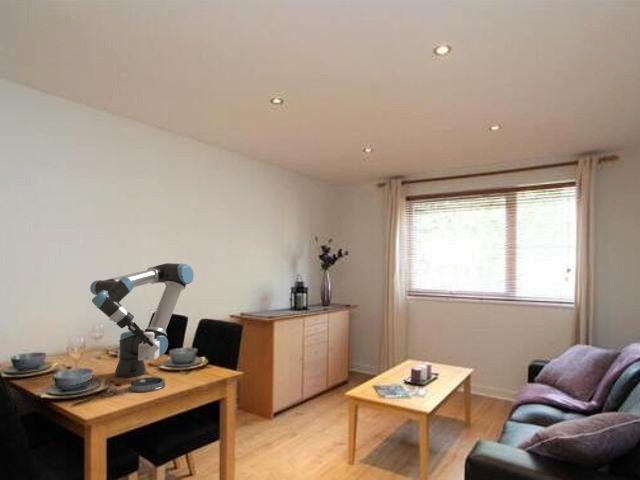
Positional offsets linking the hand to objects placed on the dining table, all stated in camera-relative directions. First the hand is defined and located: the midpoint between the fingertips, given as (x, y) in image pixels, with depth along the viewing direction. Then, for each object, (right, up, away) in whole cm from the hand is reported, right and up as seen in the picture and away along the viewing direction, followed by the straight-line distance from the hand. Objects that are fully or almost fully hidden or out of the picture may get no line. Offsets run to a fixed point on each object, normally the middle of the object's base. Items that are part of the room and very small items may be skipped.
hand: (155, 347), depth 193 cm
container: (-3, -5, -2) cm, 6 cm away
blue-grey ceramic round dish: (-3, -19, -3) cm, 19 cm away
